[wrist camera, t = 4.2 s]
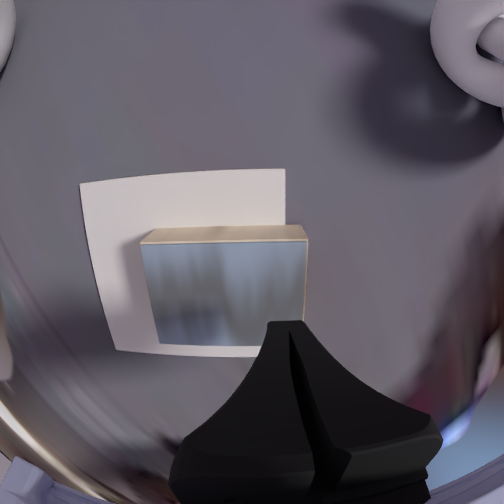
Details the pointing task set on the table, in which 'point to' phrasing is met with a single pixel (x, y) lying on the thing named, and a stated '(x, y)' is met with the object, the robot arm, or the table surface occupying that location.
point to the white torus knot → (471, 46)
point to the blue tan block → (224, 282)
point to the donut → (6, 29)
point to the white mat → (166, 216)
